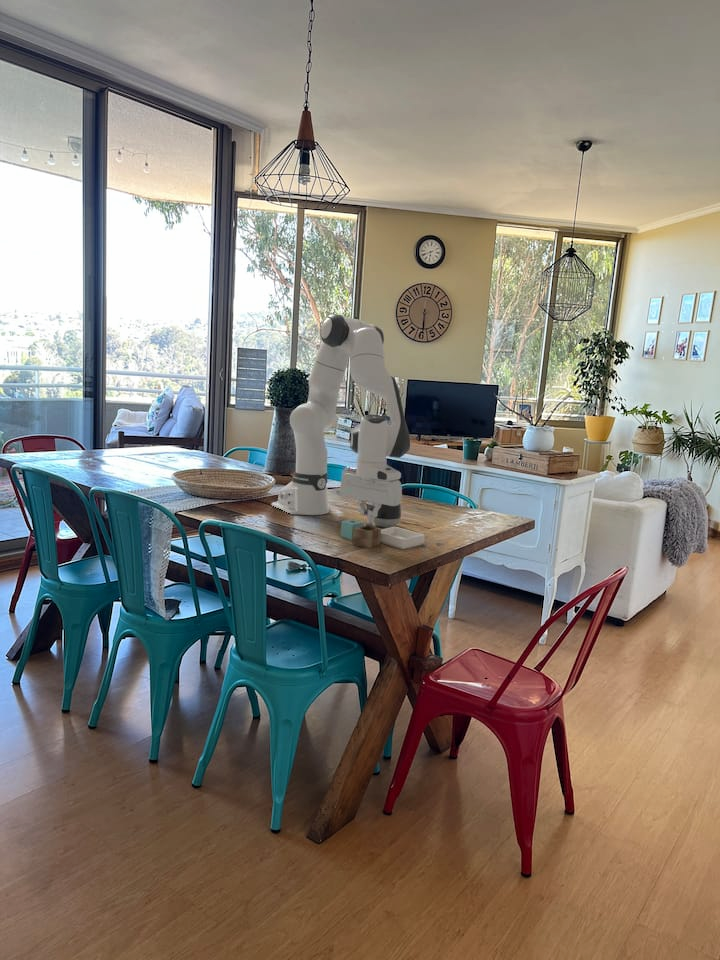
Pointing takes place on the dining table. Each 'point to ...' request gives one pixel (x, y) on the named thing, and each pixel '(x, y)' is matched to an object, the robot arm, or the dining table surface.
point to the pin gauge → (369, 517)
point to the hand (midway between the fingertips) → (368, 515)
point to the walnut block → (366, 536)
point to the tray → (401, 537)
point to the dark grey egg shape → (388, 516)
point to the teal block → (349, 528)
